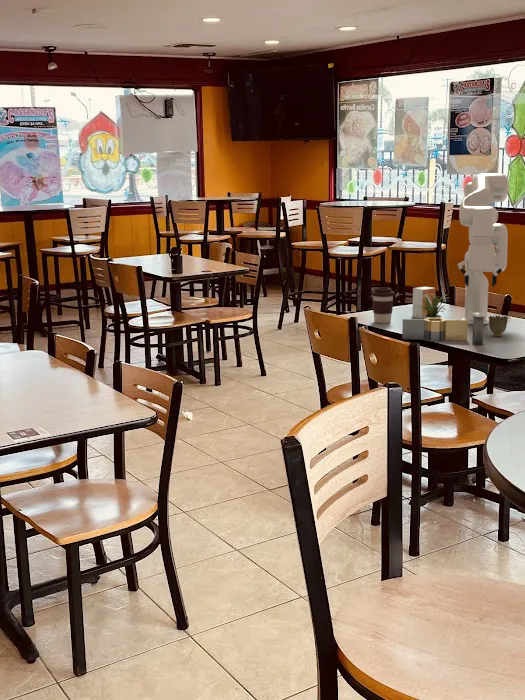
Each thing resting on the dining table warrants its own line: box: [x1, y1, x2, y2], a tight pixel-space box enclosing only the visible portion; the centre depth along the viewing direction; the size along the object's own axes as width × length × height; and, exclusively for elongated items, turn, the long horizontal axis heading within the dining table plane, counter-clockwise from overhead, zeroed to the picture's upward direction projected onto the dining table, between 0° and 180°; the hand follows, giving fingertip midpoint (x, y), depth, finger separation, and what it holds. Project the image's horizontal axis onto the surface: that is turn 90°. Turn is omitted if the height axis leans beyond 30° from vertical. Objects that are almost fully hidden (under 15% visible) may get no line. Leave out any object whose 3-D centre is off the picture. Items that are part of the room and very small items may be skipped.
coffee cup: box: [371, 286, 395, 324], centre depth 378 cm, size 10×10×15 cm
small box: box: [412, 286, 436, 319], centre depth 390 cm, size 8×6×13 cm
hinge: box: [401, 317, 469, 343], centre depth 342 cm, size 8×25×8 cm, turn 81°
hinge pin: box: [471, 312, 486, 346], centre depth 333 cm, size 5×5×12 cm
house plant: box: [419, 293, 451, 319], centre depth 358 cm, size 14×14×16 cm
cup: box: [488, 315, 509, 338], centre depth 346 cm, size 8×7×8 cm
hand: (480, 286), depth 330 cm, fingers open, 9 cm apart
